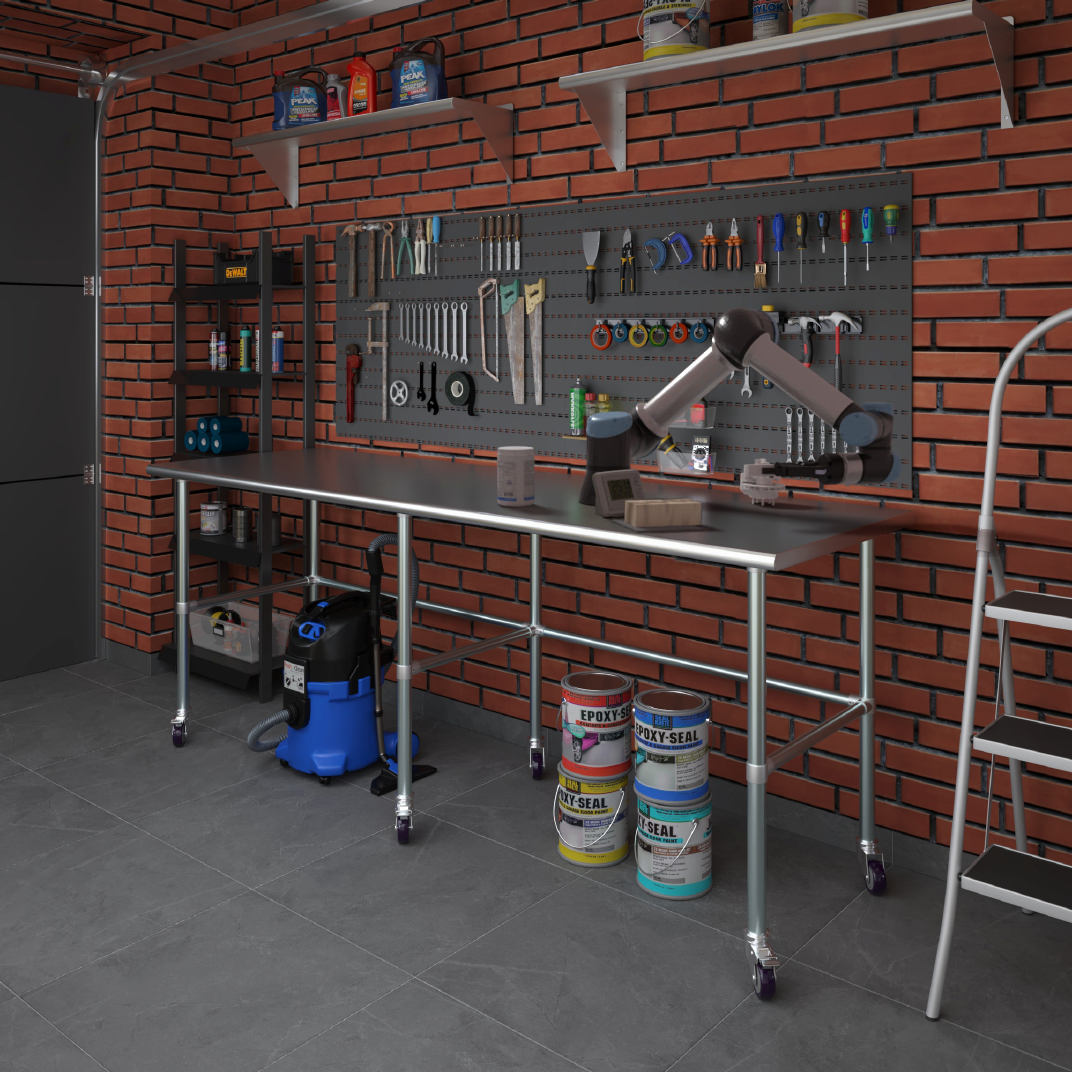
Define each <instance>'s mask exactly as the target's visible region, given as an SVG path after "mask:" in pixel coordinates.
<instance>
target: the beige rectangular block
mask: <svg viewBox="0 0 1072 1072" xmlns="http://www.w3.org/2000/svg"><path fill="white" fill-rule="evenodd" d="M703 504H704V503H703V502H701V501H698V500H694V499H692V498H678V499H676V498H675V499H674V498H673V499H646V500H630V501H625V516H624V519H625V523H627V524H630V525H632V526H634V527H653V526H683V525H695V526H702V524H703V523H702V522H703Z"/></svg>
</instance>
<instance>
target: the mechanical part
mask: <svg viewBox="0 0 1072 1072" xmlns="http://www.w3.org/2000/svg"><path fill="white" fill-rule="evenodd" d="M769 463H770V462H769V461H768V462H767V459H766V458H754V464H769ZM781 480H782V477H781V476H775V475H774V477H773V478H770V476H758V477H748V476H746V464H743V472H741V473H740V480H739V481H740V482H739V483H740V486H739V489H740V491H741V492H742V493H743V495H744V496H745V495H746V496H748V497H750V498H751V505H754V504H755V503H756V504H759V499H760V500H761V506H765V500H768V504H771V505H772V506H775V499H779V492H783V491H785V490H786V484H785V483H779V482H781ZM755 499H756V502H755Z"/></svg>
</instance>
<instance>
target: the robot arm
mask: <svg viewBox="0 0 1072 1072" xmlns="http://www.w3.org/2000/svg"><path fill="white" fill-rule="evenodd" d="M713 331H714V332H713V334H714V335H712V339H711V345H710V346H709V347H708V348H707V349H706V350H705V351H704V352H703V353H701V354H700V355H699V356H698V357H697V358H696V359H695V360H693V362H692V363H690V365H688V366H687V367H685V369H684V370H683V371H681V372H680V373H679V374H678V375H677V376H676V377H675V378H674V379H672V380H671V381H670V382H669V383H668V384H666V386H665V387H663V388H662V389H661V390H660V391H659V392H657V394H655V396H654V397H652V398H651V399H650V400H649V401H648V402H639V403H637V404H636V405H635V406H634V407H632V409H631V410H630V411H628V412H626V411H605V412H597V413H593V414H591V415H589V417H588V418H587V423H586V424H587V425H586V429H585V431H586V432H585V433H586V446H585V447H586V448H585V449H586V455H585V457H586V459H585V462H586V463H585V474H584V478H583V480H582V483H581V486H580V490H579V493H578V502H579V503H581V504H585V505H593V506H595V501H596V493H595V488H594V484H593V480H592V476H593V474H595V473H598V472H604V471H615V470H625V469H626V470H629V469H631V461H632V459H633V460H636V459H642V458H643V459H644V458H647V457H649V456H651V455H652V454H654V453H655V452H656V451H657V450H658V448H659V447H660V445H661V443H662V441H663V440H664V439H665V438H666V437H667V436H668V435H669V428H670V427H671V425H673V424H674V423H675V422H676V421H678V420H679V418H681V417H682V416H683V415H684V414H686V412H688V411H689V410H690V409H691V408H692V407H693V406H695V404H698V402H700V400H702V399H703V398H704V397H705V396H707V394H708V393H710V392H711V391H712V390H713V389H714V388H715V387H717V386H718V385H719V384H720V383H721V382H722V381H724V380H725V379H726V378H727V377H728V376H729V375H730V374H732V372H735V371H739V372H743V371H744V370H745V369H746V368H747V367H748V368H749V367H751V368H753V369H754V370H755V371H756V372H757V373H759V374H760V375H761V376H763V377H764V378H765V379H767V380H768V381H769V382H771V383H772V384H773V385H774V386H776V387H777V388H779V389H780V390H782V392H784V393H786V395H788V396H790V397H791V398H792V399H793V400H794V401H796V402H798V403H799V404H800V405H801V406H803V407H804V408H805V409H807V410H808V411H810V412H811V413H813V415H815V416H816V417H818V418H819V419H821V420H822V422H824V423H825V424H827V425H828V426H830V427H831V428H832V429H833V430H835V432H837V433H838V434H839V436H840V438H841V439H842V440H843V442H845V443H846V444H847V445H849V446H853V447H858V452H829V453H828V452H824V453H822V454H820V455H819V457H818V458H817V460H816V461H815V460H813V459H807V460H805V461H802V460H801V461H798V460H796V461H789V462H788V461H787V462H778V461H775V462H769V464H755V463H754V464H753V463H751V464H747V463H746V464H745V465H746V476H748V477H758V476H770V478H773V477H774V475H775V476H781V478H805V479H807V478H808V479H809V478H810V479H817V481H818V482H819V483H820V484H822V485H824V486H835V485H845V487H847V488H849V487H850V486H851V485H881V484H890V483H891V484H892V483H894V482H895V481H897V480H898V479H899V477H900V476H901V472H902V468H903V466H902V463H901V457H900V456H899V455H898V454H897V453H896V452H893V451H892V443H893V442H892V441H893V431H894V429H893V428H894V420H895V412H894V411H895V409H894V408H895V407H894V404H892V403H891V402H884V401H883V402H882V401H877V402H876V401H875V402H873V401H868V402H867V401H865V402H863V403H862V404H861V406H860V405H859V404H857V403H856V402H855V401H854V400H852V399H851V398H850V397H848V396H847V395H845V394H844V393H843V392H841V391H840V389H837V388H836V387H834V386H833V385H832V384H831V383H829V382H827V380H825V379H823V378H822V376H819V375H818V373H816V372H814V371H813V370H812V369H810V368H809V367H808V366H807V365H805V364H803V363H802V362H800V361H799V360H798V359H796V358H795V357H794V356H792V355H791V354H790V353H788V352H787V351H786V350H784V349H783V348H781V347H780V346H779V345H778V342H779V336H780V330H779V326H778V323H777V321H776V320H775V318H774V317H773V316H772V315H771V314H769V312H765V311H764V310H761V309H757V308H756V309H755V308H754V309H750V308H743V307H734V308H731V309H729V310H726V311H725V312H723V313H722V314H721V315H720V316H719V318H718V319H717V321H716V323H715V326H714V329H713ZM773 479H774V478H773Z"/></svg>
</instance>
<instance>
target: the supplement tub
mask: <svg viewBox="0 0 1072 1072" xmlns="http://www.w3.org/2000/svg"><path fill="white" fill-rule="evenodd" d="M496 457H497V458H496V462H497V465H496V470H497V471H496V474H497V475H496V477H497V479H496V484H497V486H496V487H497V489H496V490H497V504H498V505H500V506H502V507H509V508H510V507H511V508H513V507H514V508H518V507H519V508H522V507H530V506H533V505H534V504H535V491H536V490H535V450H534V447H532V446H521V445H520V446H518V445H517V446H515V445H514V446H513V445H511V446H509V445H508V446H499V447H498V448H497V454H496Z"/></svg>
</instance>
